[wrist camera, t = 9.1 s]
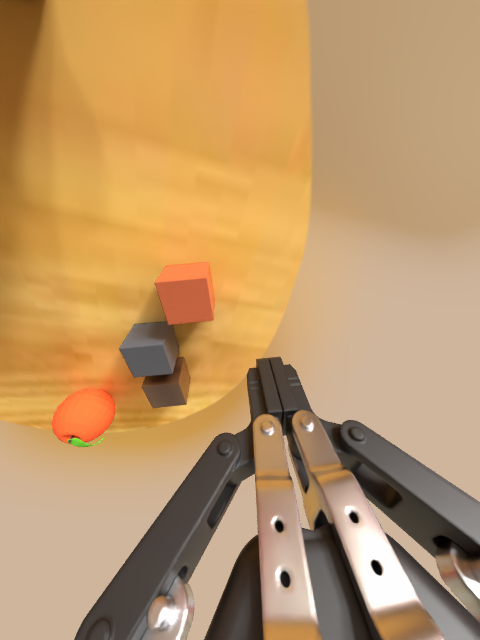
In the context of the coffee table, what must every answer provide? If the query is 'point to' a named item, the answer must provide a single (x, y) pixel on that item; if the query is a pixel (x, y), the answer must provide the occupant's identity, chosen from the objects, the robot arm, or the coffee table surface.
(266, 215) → the coffee table surface
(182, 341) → the coffee table surface
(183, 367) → the walnut block
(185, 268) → the terracotta block
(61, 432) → the clementine
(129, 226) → the coffee table surface
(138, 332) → the slate block
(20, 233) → the coffee table surface
